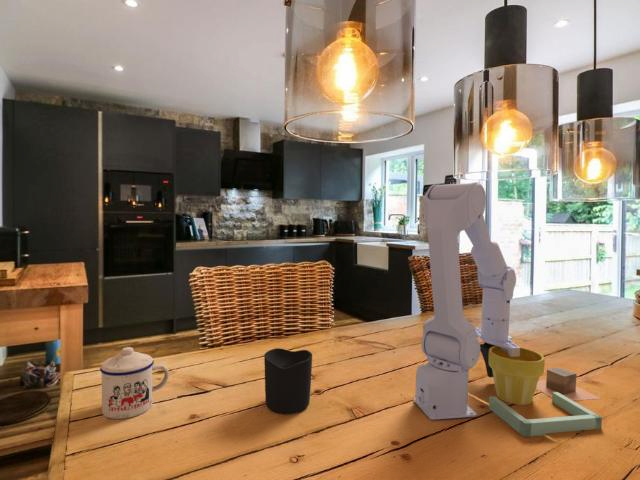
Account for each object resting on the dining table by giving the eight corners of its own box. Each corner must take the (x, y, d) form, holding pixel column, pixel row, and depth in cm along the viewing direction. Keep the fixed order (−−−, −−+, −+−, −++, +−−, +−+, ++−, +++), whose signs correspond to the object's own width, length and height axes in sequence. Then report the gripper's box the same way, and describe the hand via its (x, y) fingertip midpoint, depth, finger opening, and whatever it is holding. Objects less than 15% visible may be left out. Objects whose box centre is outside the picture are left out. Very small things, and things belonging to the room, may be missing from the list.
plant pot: (494, 382, 88) (496, 341, 88) (545, 397, 82) (548, 352, 81) (480, 399, 80) (482, 353, 80) (536, 416, 74) (539, 366, 73)
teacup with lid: (103, 425, 67) (102, 360, 67) (98, 404, 75) (97, 345, 74) (174, 408, 74) (174, 348, 74) (163, 390, 82) (163, 336, 81)
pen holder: (291, 389, 83) (292, 344, 83) (321, 405, 76) (322, 356, 76) (254, 403, 77) (255, 353, 76) (283, 421, 70) (283, 367, 69)
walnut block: (563, 394, 82) (564, 376, 82) (545, 387, 86) (546, 369, 86) (575, 391, 84) (576, 373, 84) (557, 384, 88) (558, 367, 88)
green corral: (524, 437, 67) (525, 423, 66) (488, 408, 77) (489, 396, 76) (601, 430, 69) (601, 417, 69) (556, 403, 79) (557, 392, 79)
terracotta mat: (558, 403, 79) (558, 401, 79) (524, 382, 89) (524, 381, 89) (600, 400, 81) (600, 398, 81) (562, 380, 91) (562, 378, 91)
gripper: (534, 326, 81) (530, 389, 82) (491, 309, 95) (489, 363, 96) (503, 327, 80) (500, 391, 80) (465, 310, 94) (463, 365, 95)
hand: (492, 376), depth 88 cm, fingers closed
